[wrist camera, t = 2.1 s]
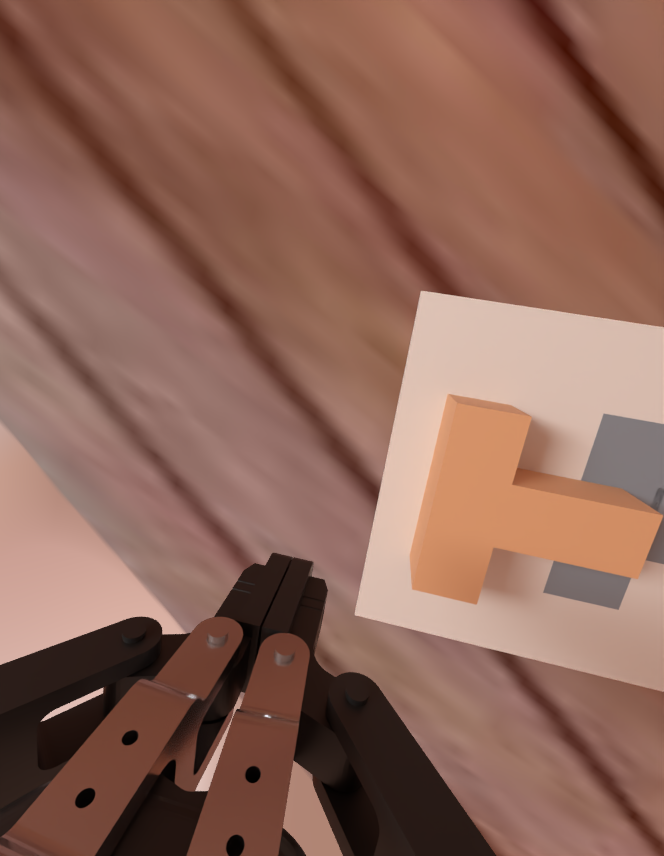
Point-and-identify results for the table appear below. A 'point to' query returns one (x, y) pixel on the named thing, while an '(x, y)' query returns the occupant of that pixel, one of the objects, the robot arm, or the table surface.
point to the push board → (542, 452)
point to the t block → (514, 508)
